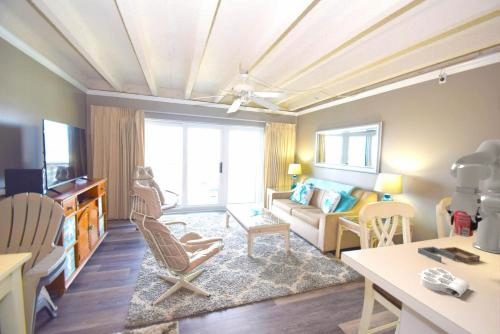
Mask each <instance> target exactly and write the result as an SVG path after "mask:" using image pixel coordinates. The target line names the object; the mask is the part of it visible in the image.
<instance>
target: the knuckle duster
mask: <svg viewBox="0 0 500 334" xmlns="http://www.w3.org/2000/svg"><path fill="white" fill-rule="evenodd" d="M416 275H418V276H419V278H420V282H419V283H420V285H421V286H422V287H424V288H426V289H428V290H430V291H434V292H444V293H446V294H448V295H450V296H452V297H455V298H456V297H457V298H460V297H461V296H462V295H463V294H464V293H466V291H467V290H468V289H469V288H470V286H471V285H470V284H469V283H468V282H467V281H465V280H464V279H461V278H459V277H457V276H454V275H453V274H452V273H451V272H450V271H449V270H447V269H444V268H441V267H440V268H439V267H433V268H426V269H424V270H422V271H421V273H416ZM454 291H455V292H456V293H454V294H453V292H454Z"/></svg>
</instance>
